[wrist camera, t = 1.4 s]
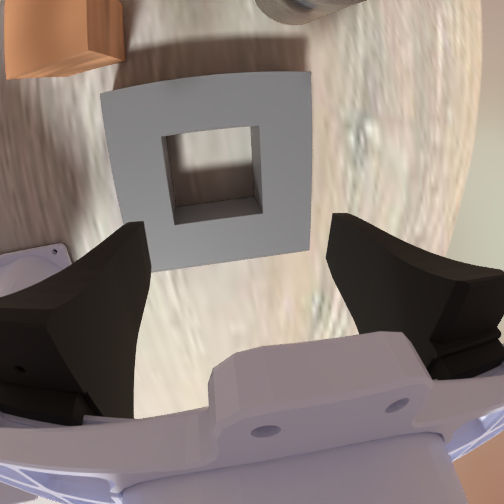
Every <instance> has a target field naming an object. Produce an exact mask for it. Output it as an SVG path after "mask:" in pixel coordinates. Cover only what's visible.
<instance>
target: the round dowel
mask: <svg viewBox="0 0 504 504" xmlns="http://www.w3.org/2000/svg"><path fill="white" fill-rule="evenodd" d="M255 1H256V3H257V5H258V7H259V8H260V9H261V11H262V12H263V13H264V14H266V15H267V16H268V17H270V18H271V19H273V20H275V21H277V22H280V23H283V24H287V25H302V24H306V23H308V22H311V21H313V20H316V19H318V18H320V17H323V16H325V15H328V14H330V13H333V12H335V11H338V10H340V9H343V8H346V7H349V6H351V5H354V4H357V3H360V2H363V1H366V0H255Z"/></svg>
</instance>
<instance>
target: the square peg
mask: <svg viewBox="0 0 504 504" xmlns="http://www.w3.org/2000/svg"><path fill="white" fill-rule="evenodd" d="M4 51H5V69H6V80H8V79H20V78H36V77H67V76H71V75H74V74H77V73H81V72H84V71H88V70H92V69H95V68H99V67H103V66H107V65H112V64H116V63H120V62H125V61H126V57H125V43H124V26H123V5H122V4H121V2H120V1H119V0H5V10H4Z"/></svg>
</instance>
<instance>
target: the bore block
mask: <svg viewBox="0 0 504 504" xmlns="http://www.w3.org/2000/svg"><path fill="white" fill-rule="evenodd" d="M100 99H101V107H102V114H103V121H104V128H105V134H106V140H107V146H108V152H109V158H110V163H111V168H112V174H113V179H114V184H115V188H116V193H117V198H118V202H119V207H120V211H121V215H122V219H123V224H126V223H128V222H136V221H144V225H145V231H146V238H147V243H148V249H149V255H150V260H151V266H152V268H151V273H152V272H159V271H166V270H173V269H181V268H188V267H195V266H202V265H209V264H217V263H224V262H231V261H238V260H245V259H252V258H259V257H266V256H273V255H280V254H287V253H294V252H301V251H308V250H309V248H310V223H311V187H312V96H311V72H302V71H271V72H244V73H228V74H216V75H205V76H196V77H187V78H180V79H173V80H166V81H159V82H153V83H148V84H142V85H137V86H132V87H127V88H122V89H117V90H113V91H108V92H104V93H100ZM246 126H250V128H251V146H252V164H253V183H254V197H251V198H242V199H234V200H226V201H218V202H210V203H202V204H195V205H188V206H181V207H176V204H175V197H174V191H173V184H172V177H171V170H170V163H169V156H168V149H167V141H166V136H168V135H175V134H182V133H190V132H197V131H206V130H214V129H224V128H234V127H246Z"/></svg>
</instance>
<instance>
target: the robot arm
mask: <svg viewBox="0 0 504 504" xmlns="http://www.w3.org/2000/svg"><path fill="white" fill-rule="evenodd" d="M53 249H56V250H57V252H55V251H54V250H53ZM326 260H327V263H328V266H329V269H330V272H331V275H332V277H333V279H334V282H335V284H336V286H337V288H338V289H339V291H340V293H341V295H342V297H343V299H344V301H345V303H346V305H347V307H348V309H349V311H350V313H351V315H352V317H353V319H354V321H355V324H356V326H357V329H358V332H359V335H353V336H346V337H339V338H332V339H324V340H316V341H308V342H299V343H290V344H280V345H269V346H261V347H257V348H253V349H249V350H245V351H241V352H236V353H235V354H233V355H231V356H230V357H229V358H227V359H226V360H224V361H223V362H221V363H220V364H219V365H217V366H216V367H214V368H213V370H212V373H211V376H210V379H209V382H208V398H209V406H207V407H203V408H198V409H193V410H188V411H183V412H178V413H173V414H167V415H161V416H155V417H149V418H143V419H134V368H135V355H136V344H137V338H138V332H139V328H140V324H141V320H142V316H143V311H144V307H145V303H146V299H147V295H148V291H149V286H150V278H151V268H152V266H151V260H150V255H149V249H148V243H147V238H146V231H145V225H144V221H136V222H128V223H126V224H124V225H123V226H122V227H120V228H119V229H118V230H116V231H115V232H114V233H113V234H111V235H110V236H109V237H108V238H106V239H105V240H104V241H103V242H102V243H100V244H99V245H98V246H96V247H95V248H94V249H92V250H91V251H90V252H88V253H87V254H86V255H84V256H83V257H82V258H80V259H79V260H77V261H76V262H74V263H73V264H72V262H71V260H70V257H69V254H68V251H67V248H66V246H65V245H64V244H62V243H57V244H52V245H47V246H41V247H36V248H31V249H26V250H20V251H15V252H10V253H5V254H0V504H20V503H25V502H30V501H34V500H36V499H37V498H38V496H40V497H43V498H46V499H49V500H52V501H55V502H59V503H62V504H469V503H468V500H467V498H466V495H465V493H464V490H463V488H462V485H461V483H460V480H459V478H458V475H457V473H456V470H455V468H454V466H453V463H452V462H453V461H455V460H456V459H458V458H460V457H462V456H463V455H465V454H467V453H469V452H470V451H472V450H474V449H475V448H477V447H478V446H480V445H482V444H483V443H485V442H486V441H488V440H490V439H491V438H492V437H494V436H496V435H497V434H499V433H500V432H502V431H503V430H504V344H503V345H502V344H501V342H500V341H499V340H498V338H500V336H501V332H500V330H499V329H498V328H497V326H498V324H499V322H500V321H501V319H502V317H503V315H504V272H503V271H502V270H500V269H494V268H487V267H481V266H475V265H471V264H467V263H463V262H458V261H455V260H451V259H448V258H445V257H442V256H439V255H436V254H433V253H430V252H428V251H425V250H423V249H420V248H418V247H415V246H413V245H411V244H409V243H407V242H404V241H402V240H400V239H398V238H396V237H394V236H392V235H390V234H388V233H387V232H385V231H383V230H381V229H379V228H377V227H375V226H373V225H372V224H370V223H368V222H366V221H364V220H362V219H360V218H358V217H356V216H354V215H351V214H348V213H333V214H332V221H331V228H330V234H329V241H328V247H327V253H326Z"/></svg>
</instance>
